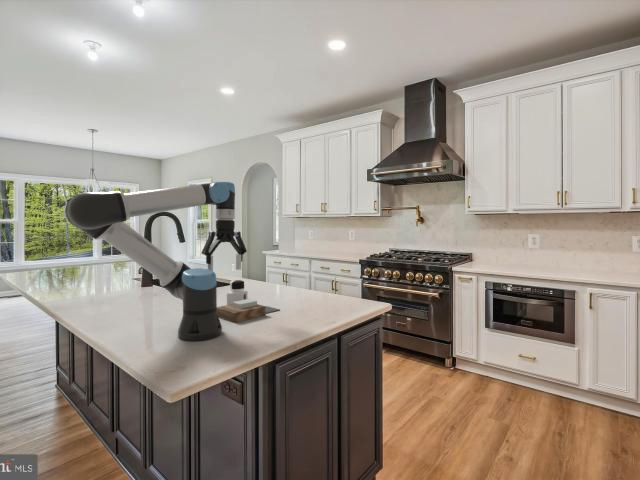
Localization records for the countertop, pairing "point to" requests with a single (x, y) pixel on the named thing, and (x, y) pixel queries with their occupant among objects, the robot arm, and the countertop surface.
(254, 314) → the brown wooden flat block
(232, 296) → the container
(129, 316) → the countertop surface
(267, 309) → the mat
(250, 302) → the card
